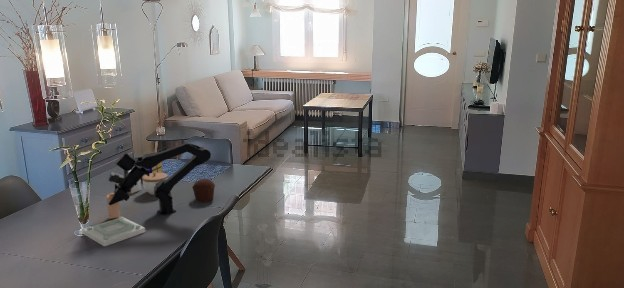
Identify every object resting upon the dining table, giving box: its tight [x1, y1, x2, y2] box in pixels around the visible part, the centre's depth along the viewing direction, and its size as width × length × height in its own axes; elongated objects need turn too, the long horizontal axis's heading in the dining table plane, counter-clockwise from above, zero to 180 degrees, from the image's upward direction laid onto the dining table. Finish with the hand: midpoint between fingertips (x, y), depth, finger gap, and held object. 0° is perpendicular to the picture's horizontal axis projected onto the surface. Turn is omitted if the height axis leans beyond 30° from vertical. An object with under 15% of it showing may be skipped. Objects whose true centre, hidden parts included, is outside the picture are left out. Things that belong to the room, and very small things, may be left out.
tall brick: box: [106, 192, 121, 219], centre depth 214 cm, size 4×4×11 cm
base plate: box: [82, 216, 146, 247], centre depth 199 cm, size 18×18×4 cm
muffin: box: [192, 178, 216, 203], centre depth 240 cm, size 12×11×10 cm
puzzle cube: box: [145, 161, 163, 175], centre depth 276 cm, size 10×10×10 cm
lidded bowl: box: [141, 172, 168, 196], centre depth 248 cm, size 13×13×11 cm
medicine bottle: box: [123, 167, 142, 194], centre depth 250 cm, size 7×7×12 cm
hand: (109, 202), depth 213 cm, fingers closed on tall brick, 4 cm apart
